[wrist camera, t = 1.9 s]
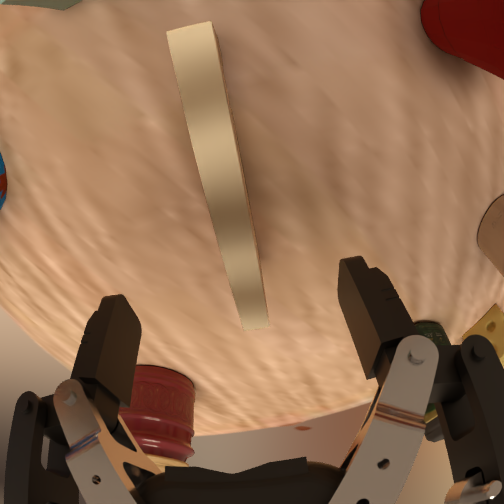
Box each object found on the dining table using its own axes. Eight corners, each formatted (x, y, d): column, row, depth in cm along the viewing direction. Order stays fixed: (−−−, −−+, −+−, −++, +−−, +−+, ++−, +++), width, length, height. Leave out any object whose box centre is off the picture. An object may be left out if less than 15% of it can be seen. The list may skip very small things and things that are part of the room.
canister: (103, 367, 39) (85, 468, 25) (171, 358, 37) (163, 479, 23) (146, 400, 47) (139, 485, 33) (208, 394, 45) (210, 489, 31)
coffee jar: (382, 349, 41) (418, 452, 26) (414, 317, 37) (463, 427, 22) (418, 350, 44) (452, 438, 29) (446, 322, 39) (491, 413, 24)
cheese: (495, 302, 39) (519, 341, 31) (505, 312, 43) (526, 346, 35) (458, 337, 44) (478, 377, 36) (474, 343, 48) (491, 378, 40)
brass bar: (189, 43, 16) (166, 31, 9) (217, 36, 16) (211, 20, 9) (239, 264, 28) (243, 331, 21) (259, 260, 28) (270, 327, 21)
